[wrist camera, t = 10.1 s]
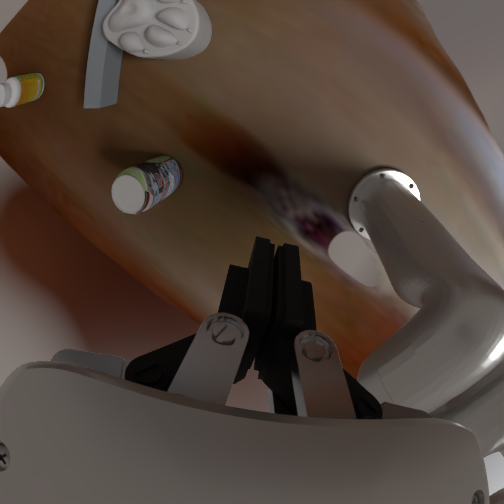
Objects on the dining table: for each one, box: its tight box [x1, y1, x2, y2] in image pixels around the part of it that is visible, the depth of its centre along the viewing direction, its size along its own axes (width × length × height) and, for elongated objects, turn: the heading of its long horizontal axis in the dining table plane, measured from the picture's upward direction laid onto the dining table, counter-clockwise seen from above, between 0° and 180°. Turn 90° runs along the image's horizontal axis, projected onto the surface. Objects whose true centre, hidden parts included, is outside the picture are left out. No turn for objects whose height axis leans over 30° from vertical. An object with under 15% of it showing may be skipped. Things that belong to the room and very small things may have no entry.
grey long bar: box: [84, 0, 123, 108], centre depth 27 cm, size 3×24×5 cm, turn 169°
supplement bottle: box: [0, 73, 44, 108], centre depth 29 cm, size 5×5×10 cm
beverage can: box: [112, 156, 183, 214], centre depth 37 cm, size 6×7×12 cm
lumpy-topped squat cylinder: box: [103, 0, 212, 60], centre depth 26 cm, size 10×13×9 cm
